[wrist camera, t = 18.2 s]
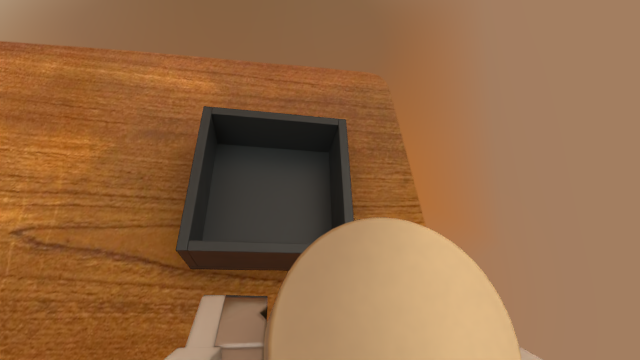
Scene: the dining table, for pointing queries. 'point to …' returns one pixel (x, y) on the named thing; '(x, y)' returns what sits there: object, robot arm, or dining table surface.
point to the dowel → (387, 300)
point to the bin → (263, 189)
